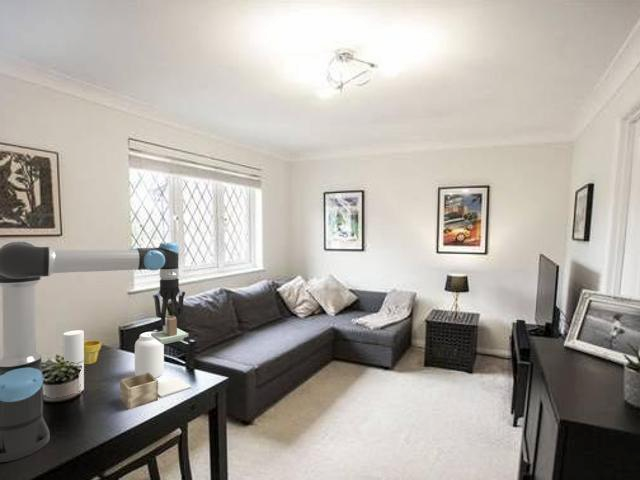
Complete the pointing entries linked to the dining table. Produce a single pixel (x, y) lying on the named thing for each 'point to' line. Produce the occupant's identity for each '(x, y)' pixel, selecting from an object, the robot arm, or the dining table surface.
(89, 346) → the plant pot
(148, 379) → the storage box
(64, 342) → the cylindrical container
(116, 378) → the dining table surface
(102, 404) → the dining table surface
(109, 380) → the dining table surface
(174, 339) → the lid
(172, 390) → the felt mat
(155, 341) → the white jar
